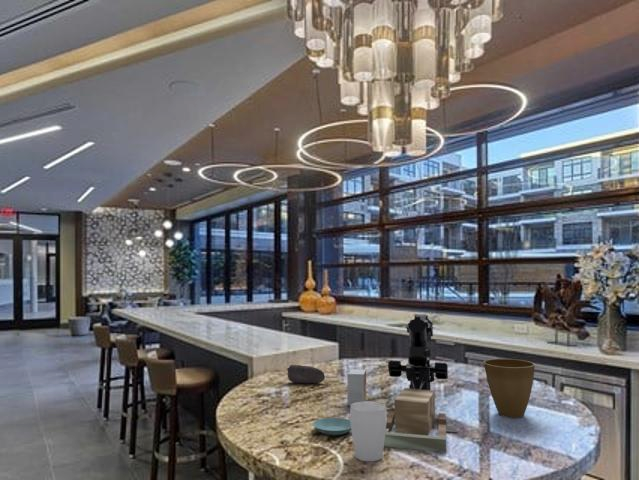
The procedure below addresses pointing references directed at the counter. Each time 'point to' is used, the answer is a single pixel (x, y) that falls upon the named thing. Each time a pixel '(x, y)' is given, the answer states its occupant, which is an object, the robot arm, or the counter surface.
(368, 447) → the cup
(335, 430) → the saucer
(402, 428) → the walnut block
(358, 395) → the small box
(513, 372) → the plant pot
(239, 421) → the counter surface
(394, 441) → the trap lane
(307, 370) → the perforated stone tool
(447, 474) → the counter surface
